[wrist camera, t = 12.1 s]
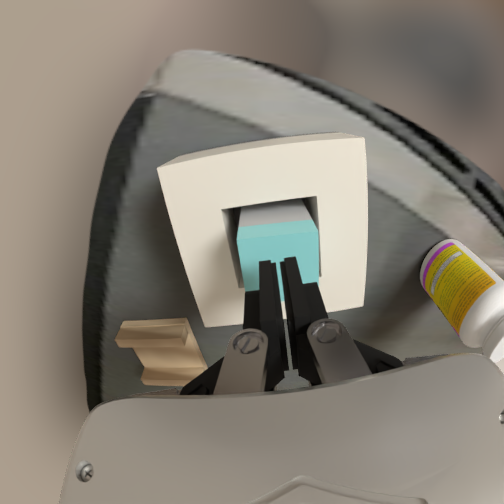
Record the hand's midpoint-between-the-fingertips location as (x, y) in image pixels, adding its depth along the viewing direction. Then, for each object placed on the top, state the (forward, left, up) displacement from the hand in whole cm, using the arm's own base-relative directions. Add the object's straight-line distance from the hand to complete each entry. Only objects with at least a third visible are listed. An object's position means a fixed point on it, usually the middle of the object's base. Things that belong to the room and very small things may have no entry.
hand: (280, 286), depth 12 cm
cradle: (-14, +14, -11) cm, 23 cm away
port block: (0, 0, -11) cm, 11 cm away
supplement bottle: (-8, -18, -11) cm, 23 cm away
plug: (0, 0, -10) cm, 10 cm away
